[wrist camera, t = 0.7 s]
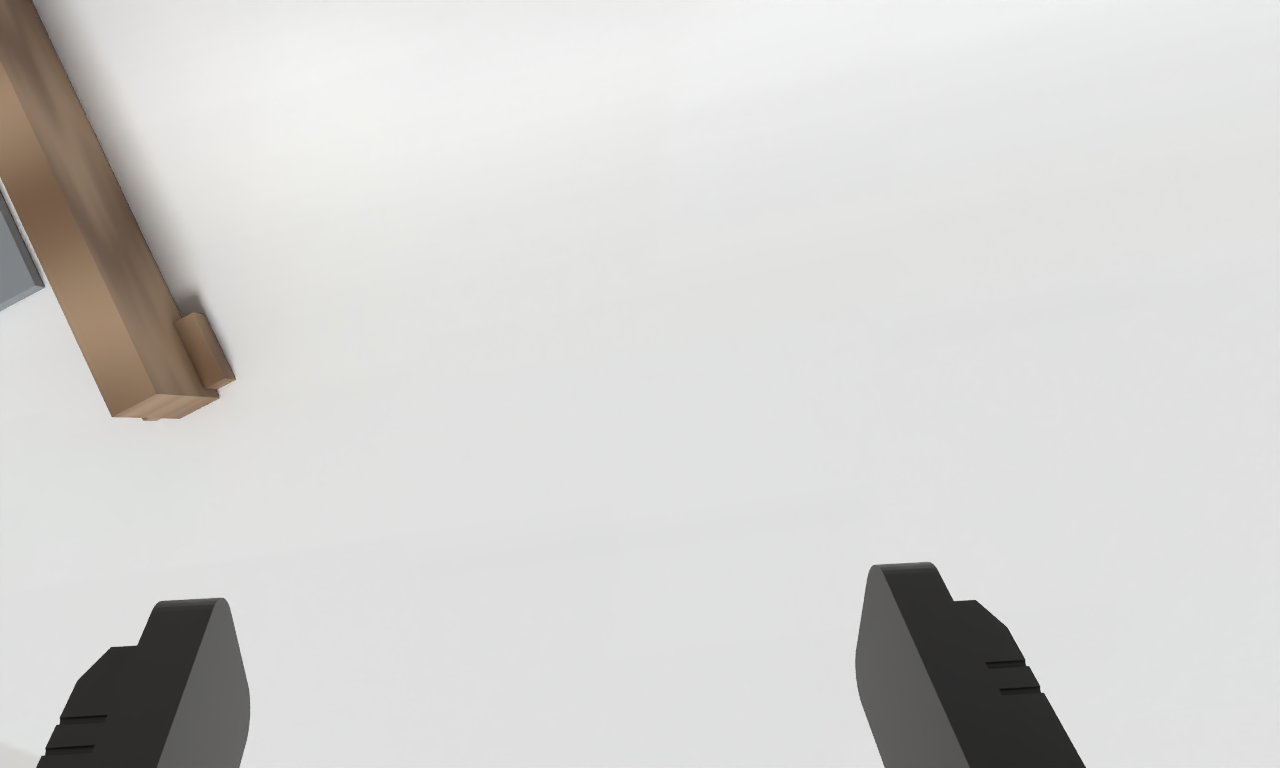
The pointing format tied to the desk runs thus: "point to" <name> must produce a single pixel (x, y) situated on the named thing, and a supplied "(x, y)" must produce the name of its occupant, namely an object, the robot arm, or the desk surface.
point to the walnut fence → (94, 239)
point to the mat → (14, 263)
